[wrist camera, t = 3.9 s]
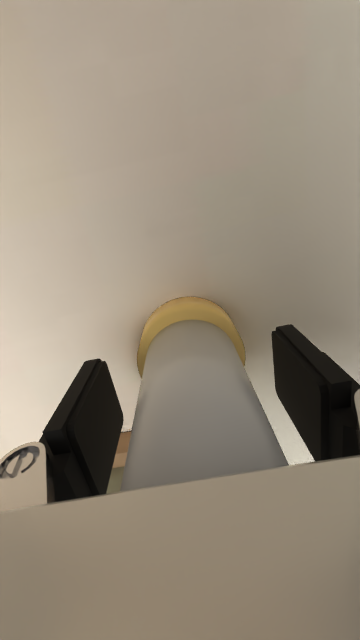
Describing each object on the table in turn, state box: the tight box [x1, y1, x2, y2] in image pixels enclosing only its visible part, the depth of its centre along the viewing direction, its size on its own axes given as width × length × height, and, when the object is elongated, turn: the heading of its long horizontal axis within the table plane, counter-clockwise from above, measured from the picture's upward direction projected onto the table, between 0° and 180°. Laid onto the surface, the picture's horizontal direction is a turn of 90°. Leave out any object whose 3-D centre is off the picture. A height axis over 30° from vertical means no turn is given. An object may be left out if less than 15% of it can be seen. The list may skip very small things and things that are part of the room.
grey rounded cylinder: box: [120, 297, 289, 492], centre depth 9 cm, size 5×5×10 cm
